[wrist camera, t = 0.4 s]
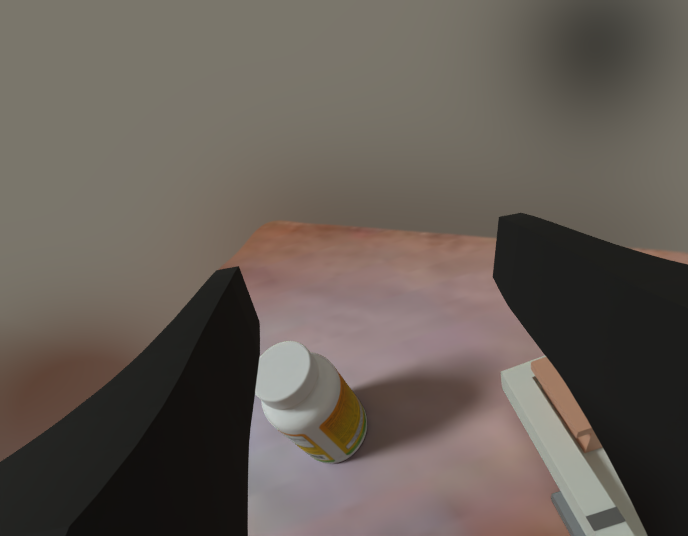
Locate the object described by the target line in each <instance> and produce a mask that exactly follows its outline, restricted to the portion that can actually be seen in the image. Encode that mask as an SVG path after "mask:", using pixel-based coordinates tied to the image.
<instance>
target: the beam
mask: <svg viewBox="0 0 688 536" xmlns="http://www.w3.org/2000/svg"><path fill="white" fill-rule="evenodd" d="M544 357H546V356H543V357H540V358H537V359H534V360H532V361H529V362H526V363H523V364H521V365H518V366H515V367H512V368H510V369H507V370H504V371H501V381H502V389H503V390H504V392H505V394H506V396H507V397H508V399H509V401H510V403H511V405H512V406H513V408H514V410H515V412H516V413H517V415H518V417H519V419H520V420H521V422H522V424H523V426H524V427H525V429H526V431H527V433H528V434H529V436H530V438H531V440H532V442H533V443H534V445H535V447H536V449H537V450H538V452H539V454H540V456H541V457H542V459H543V461H544V463H545V464H546V466H547V468H548V470H549V471H550V473H551V475H552V477H553V478H554V480H555V482H556V484H557V486H558V487H559V489H560V491H559V492H556V493H553V494H552V496H551V500H552V502H553V504H554V505H555V507H556V509H557V511H558V513H559V515H560V517H561V518H562V520H563V522H564V524H565V526H566V528H567V529H568V531H569V533H570V535H571V536H647V534H646V531H645V529H644V527H643V525H642V523H641V521H640V519H639V517H638V515H637V513H636V511H635V509H634V506H633V504H632V502H631V500H630V498H629V496H628V494H627V492H626V490H625V489H624V487H623V485H622V483H621V481H620V479H619V477H618V475H617V473H616V471H615V469H614V467H613V466H612V464H611V462H610V460H609V458H608V456H607V454H606V452H605V450H604V449H603V447H602V448H599V449H596V450H593V451H590V452H587V453H584V451H583V450H582V448H581V447H580V445H579V444H578V442H577V441H576V439H575V437H574V436H573V434H572V433H571V431H570V430H569V428H568V427H567V425H566V424H565V422H564V421H563V419H562V418H561V416H560V415H559V413H558V412H557V410H556V408H555V407H554V405H553V404H552V402H551V401H550V399H549V398H548V396H547V395H546V393H545V392H544V390H543V389H542V385H541V384H540V382H539V381H538V379H537V378H536V376H535V375H534V373H533V372H532V370H531V362H533V361H535V360H538V359H541V358H544Z"/></svg>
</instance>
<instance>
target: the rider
mask: <svg viewBox="0 0 688 536" xmlns="http://www.w3.org/2000/svg"><path fill="white" fill-rule="evenodd" d="M531 370H532V372H533V373H534V375H535V376H536V378H537V379H538V381H539V382H540V384H541V385H542V389H543V390H544V392H545V393H546V395H547V396H548V398H549V399H550V401H551V402H552V404H553V405H554V407H555V408H556V410H557V412H558V413H559V415H560V416H561V418H562V419H563V421H564V422H565V424H566V425H567V427H568V428H569V430H570V431H571V433H572V434H573V436H574V437H575V439H576V441H577V442H578V444H579V445H580V447H581V448H582V450H583V451H584V453H587V452H590V451H593V450H596V449H599V448H602V445H601V443H600V442H599V440H598V438H597V436H596V434H595V433H594V431H593V429H592V427H591V426H590V424H589V422H588V420H587V418H586V417H585V415H584V413H583V412H582V410H581V408H580V407H579V405H578V403H577V402H576V400H575V398H574V397H573V395H572V393H571V392H570V390H569V388H568V387H567V385H566V383H565V382H564V380H563V379H562V378H561V376H560V375H559V373H558V372H557V370H556V369H555V368H554V366H553V365H552V364H551V362H550V361H549V360H548V358H547V357H544V358H541V359H538V360H535V361H533V362H531Z"/></svg>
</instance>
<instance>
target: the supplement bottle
mask: <svg viewBox="0 0 688 536" xmlns="http://www.w3.org/2000/svg"><path fill="white" fill-rule="evenodd" d="M255 394H256V395H257V396H258V397H259V398H260V399H261V400H262V407H263V411H264V414H265V416H266V418H267V419H268V421H269V422H270V423H271V424H272V425H273V426H274V427H275V428H276V429H277V430H278V431H280V432H281V433H282V434H284V435H285V436H286V437H287V438H289V439H290V440H291V441H292V442H294V443H295V444H296V445H297V446H299V447H300V448H301V449H302V450H303V451H305V452H306V453H307V454H308V455H310V456H311V457H313V458H314V459H316V460H317V461H320V462H323V463H328V464H332V463H338V462H341V461H344V460H346V459H348V458H349V457H350V456H352V455H353V454H354V453H355V452H356V451H357V450H358V448H359V447H360V445H361V444H362V442H363V440H364V438H365V435H366V431H367V417H366V413H365V410H364V408H363V406H362V404H361V402H360V401H359V399H358V398H357V397H356V395H355V394H354V393H353V391H352V390H351V389H350V387H349V386H348V385H347V383H346V382H345V381H344V379H343V378H342V376H341V375H340V374H339V372H338V371H337V369H336V368H335V367H334V366H333V364H332V363H331V362H330V361H329V360H328V359H326V358H325V357H323V356H322V355H319V354H316V353H311V352H309V350H308V349H307V348H306V347H305V346H304V345H302V344H301V343H298V342H295V341H285V342H281V343H278V344H276V345H274V346H272V347H270V348H269V349H268V350H267V351H265V352H264V353H263V354H262V355H261V357H260V358H259V365H258V373H257V381H256V389H255Z"/></svg>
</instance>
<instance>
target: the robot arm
mask: <svg viewBox="0 0 688 536" xmlns="http://www.w3.org/2000/svg"><path fill="white" fill-rule="evenodd" d="M493 278H494V280H495V282H496V284H497V286H498V288H499V290H500V292H501V294H502V296H503V297H504V299H505V301H506V303H507V304H508V306H509V307H510V309H511V310H512V312H513V313H514V314H515V316H516V317H517V318H518V320H519V321H520V322H521V324H522V325H523V327H524V328H525V329H526V331H527V332H528V333H529V334H530V336H531V337H532V338H533V340H534V341H535V342H536V344H537V345H538V346H539V348H540V349H541V350H542V352H543V353H544V354H545V356H546V357H547V358H548V360H549V361H550V362H551V364H552V365H553V366H554V368H555V369H556V370H557V372H558V373H559V375H560V376H561V378H562V379H563V380H564V382H565V383H566V385H567V387H568V388H569V390H570V392H571V393H572V395H573V397H574V398H575V400H576V402H577V403H578V405H579V407H580V408H581V410H582V412H583V413H584V415H585V417H586V418H587V420H588V422H589V424H590V426H591V427H592V429H593V431H594V433H595V434H596V436H597V438H598V440H599V442H600V443H601V445H602V447H603V449H604V450H605V452H606V454H607V456H608V458H609V460H610V462H611V464H612V466H613V467H614V469H615V471H616V473H617V475H618V477H619V479H620V481H621V483H622V485H623V487H624V489H625V490H626V492H627V494H628V496H629V498H630V500H631V502H632V504H633V506H634V509H635V511H636V513H637V515H638V517H639V519H640V521H641V523H642V525H643V527H644V529H645V531H646V534H647V536H688V265H687V264H683V263H679V262H675V261H670V260H667V259H663V258H659V257H656V256H652V255H648V254H645V253H642V252H639V251H635V250H632V249H629V248H625V247H622V246H619V245H616V244H612V243H610V242H607V241H604V240H601V239H598V238H595V237H592V236H589V235H586V234H584V233H581V232H578V231H575V230H572V229H569V228H567V227H564V226H561V225H558V224H555V223H553V222H549V221H546V220H544V219H541V218H538V217H535V216H531V215H527V214H523V213H518V214H512V215H508V216H502V217H499V222H498V232H497V241H496V251H495V260H494V270H493ZM259 356H260V323H259V319H258V317H257V314H256V311H255V308H254V306H253V303H252V300H251V298H250V295H249V292H248V290H247V287H246V284H245V282H244V279H243V276H242V274H241V271H240V268H239V266H237V267H232V268H227V269H221V270H217V271H215V273H214V274H213V275H212V276H211V277H210V278H209V279H208V280H207V281H206V282H205V284H204V285H203V286H202V287H201V288H200V289H199V291H198V292H197V293H196V294H195V295H194V297H193V298H192V299H191V300H190V301H189V302H188V303H187V305H186V306H185V307H184V308H183V309H182V310H181V312H180V313H179V314H178V315H177V316H176V317H175V319H174V320H173V321H172V322H171V323H170V324H169V325H168V326H167V327H166V328H165V329H164V330H163V331H162V332H161V333H160V334H159V335H158V336H157V337H156V338H155V340H153V342H151V343H150V345H149V346H148V347H147V348H146V349H145V350H144V351H143V352H142V353H141V354H139V356H138V357H137V358H135V359H134V360H133V361H132V362H131V363H130V364H129V365H128V366H127V367H125V368H124V369H123V370H122V371H121V372H120V373H119V374H118V375H116V377H114V378H113V379H112V380H111V381H110V382H108V383H107V384H106V385H105V386H104V387H102V388H101V389H100V390H99V391H98V392H96V393H95V394H94V395H92V396H91V397H90V398H88V399H87V400H86V401H85V402H83V403H82V404H81V405H79V406H78V407H77V408H76V409H74V410H73V411H72V412H70V413H69V414H68V415H67V416H65V417H64V418H63V419H62V420H60V421H59V422H58V423H56V424H55V425H53V426H52V427H51V428H49V429H48V430H46V431H45V432H44V433H42V434H41V435H39V436H38V437H37V438H35V439H34V440H32V441H31V442H29V443H28V444H26V445H25V446H24V447H22V448H21V449H19V450H18V451H16V452H15V453H13V454H12V455H10V456H9V457H7V458H6V459H4V460H3V461H1V462H0V536H248V457H249V438H250V427H251V419H252V412H253V404H254V396H255V389H256V381H257V373H258V365H259Z"/></svg>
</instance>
